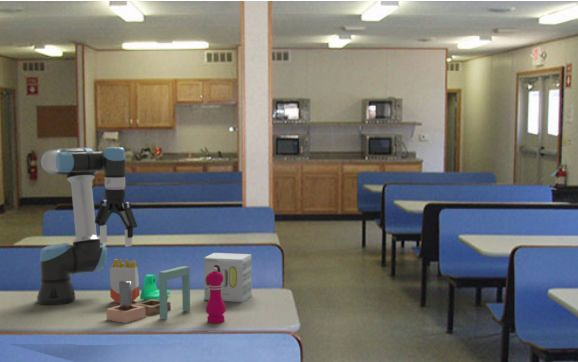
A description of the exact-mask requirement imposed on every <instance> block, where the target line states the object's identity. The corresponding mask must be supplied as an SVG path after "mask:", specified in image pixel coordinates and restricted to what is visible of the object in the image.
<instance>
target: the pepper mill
mask: <svg viewBox="0 0 578 362" xmlns="http://www.w3.org/2000/svg"><path fill="white" fill-rule="evenodd" d="M217 270H218V269H217V268H216V267H214V268H213V272H210V273H209V274H208V276H207V281H208V283H209V289H210V298H209V300H207V303H206V307H205V312H206V314H207V315H208V316H206V317H207V319H206V320H207V321H206V322H208V323H210V324H221V323H224V322H225V315H224V314H225V312H226V310H227V309H226V304H225V301H223V300H222V297H221V289H222V284H221V283H222V282H223V279H224V278H223V275H222V273H220V272H218V271H217Z"/></svg>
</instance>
